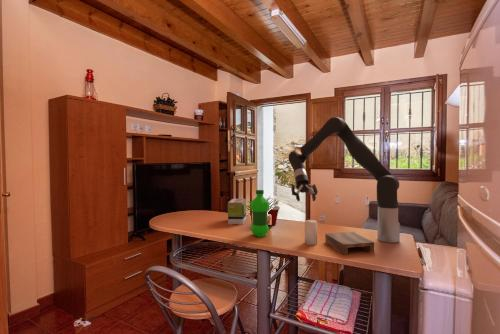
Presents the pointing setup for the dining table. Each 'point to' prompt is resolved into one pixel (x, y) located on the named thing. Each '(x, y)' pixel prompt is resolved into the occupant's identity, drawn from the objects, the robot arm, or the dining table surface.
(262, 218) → the plastic bottle
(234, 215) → the tea box
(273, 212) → the plastic cup
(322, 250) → the dining table surface
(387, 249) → the dining table surface
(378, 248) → the dining table surface
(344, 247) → the shelf
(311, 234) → the beige upright block
